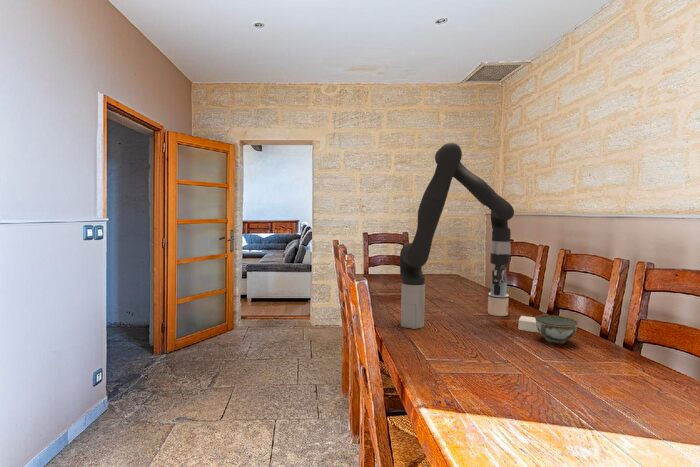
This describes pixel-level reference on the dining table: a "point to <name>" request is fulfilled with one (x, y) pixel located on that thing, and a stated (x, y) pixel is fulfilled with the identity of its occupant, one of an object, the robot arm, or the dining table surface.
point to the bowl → (556, 328)
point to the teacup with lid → (498, 305)
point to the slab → (527, 324)
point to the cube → (502, 289)
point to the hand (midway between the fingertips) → (498, 293)
